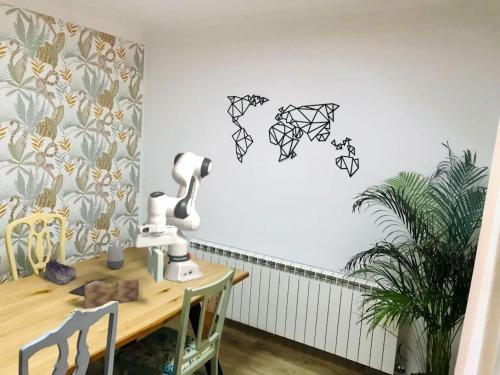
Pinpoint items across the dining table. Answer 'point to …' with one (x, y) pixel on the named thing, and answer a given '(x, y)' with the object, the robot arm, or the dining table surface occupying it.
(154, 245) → the robot arm
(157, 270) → the sage plate
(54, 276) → the geode
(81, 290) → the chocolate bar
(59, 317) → the dining table surface
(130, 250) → the dining table surface
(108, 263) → the smart speaker
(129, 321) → the dining table surface
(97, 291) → the walnut board
